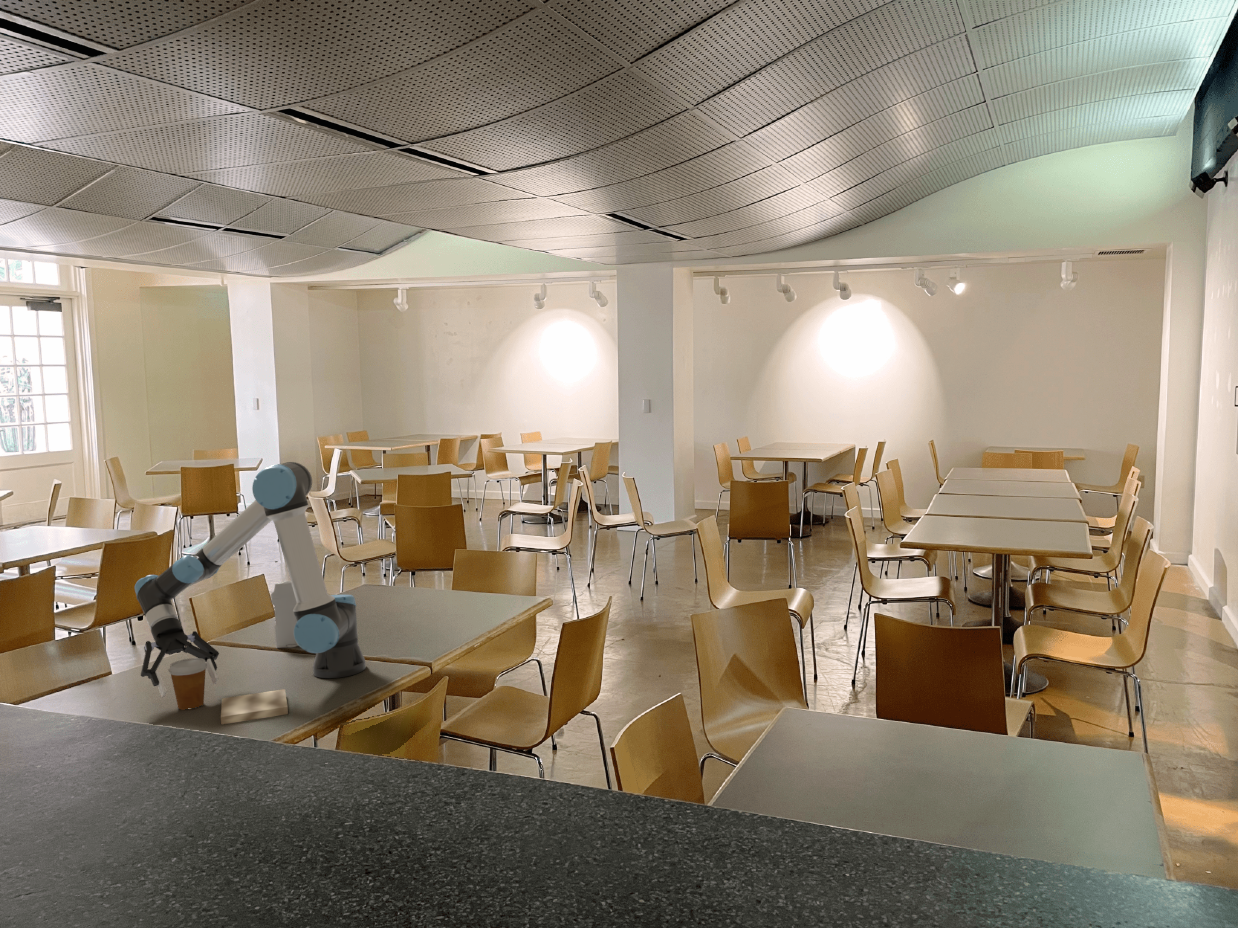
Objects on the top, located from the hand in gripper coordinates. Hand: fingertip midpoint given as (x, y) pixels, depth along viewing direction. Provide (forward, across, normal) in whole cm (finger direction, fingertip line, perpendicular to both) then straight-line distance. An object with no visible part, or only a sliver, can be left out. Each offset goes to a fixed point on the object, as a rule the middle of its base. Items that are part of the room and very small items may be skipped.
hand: (190, 687), depth 247 cm
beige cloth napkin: (+15, -10, +8) cm, 20 cm away
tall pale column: (-21, -47, -29) cm, 59 cm away
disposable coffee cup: (+3, 0, -5) cm, 6 cm away
